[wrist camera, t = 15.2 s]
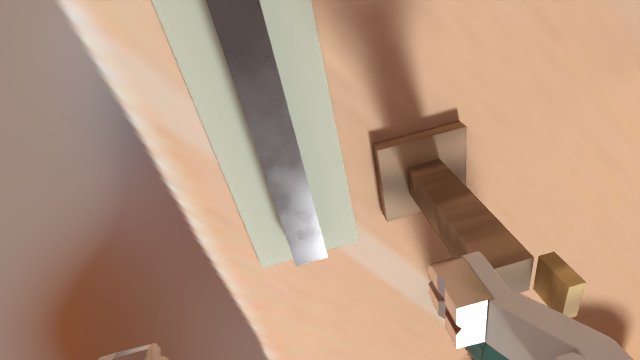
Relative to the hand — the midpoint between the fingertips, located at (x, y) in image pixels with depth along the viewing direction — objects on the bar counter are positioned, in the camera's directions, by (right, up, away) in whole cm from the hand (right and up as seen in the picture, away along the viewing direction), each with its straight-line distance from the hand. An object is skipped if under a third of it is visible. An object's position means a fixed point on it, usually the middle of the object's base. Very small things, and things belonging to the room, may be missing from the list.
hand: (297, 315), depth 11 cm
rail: (-4, +10, +17) cm, 20 cm away
